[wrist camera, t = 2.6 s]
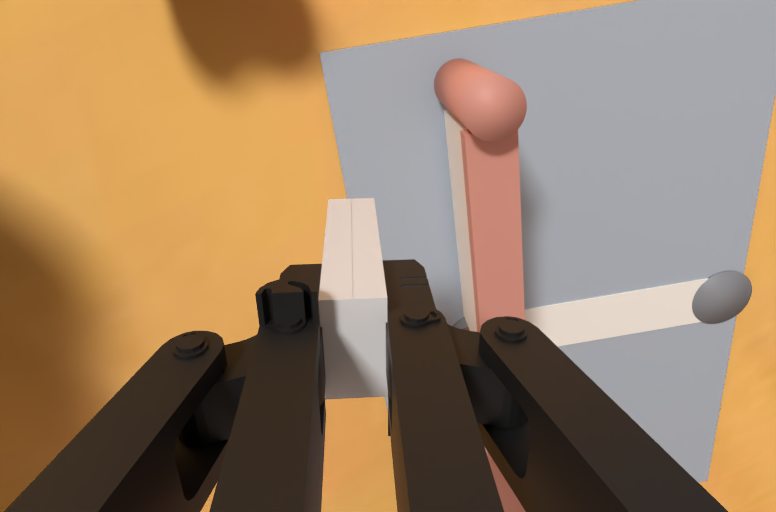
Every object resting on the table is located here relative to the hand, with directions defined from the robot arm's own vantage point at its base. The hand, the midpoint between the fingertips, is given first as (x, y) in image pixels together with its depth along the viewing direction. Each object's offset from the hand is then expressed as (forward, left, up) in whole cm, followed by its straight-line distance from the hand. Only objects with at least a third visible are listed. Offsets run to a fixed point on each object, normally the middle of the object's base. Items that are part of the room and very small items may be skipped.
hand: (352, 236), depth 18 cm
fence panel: (+6, -3, -9) cm, 11 cm away
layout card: (+11, -11, -10) cm, 18 cm away
